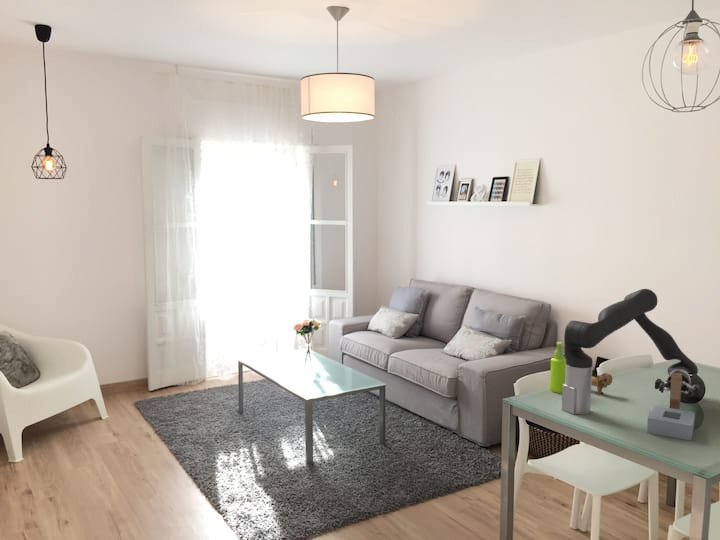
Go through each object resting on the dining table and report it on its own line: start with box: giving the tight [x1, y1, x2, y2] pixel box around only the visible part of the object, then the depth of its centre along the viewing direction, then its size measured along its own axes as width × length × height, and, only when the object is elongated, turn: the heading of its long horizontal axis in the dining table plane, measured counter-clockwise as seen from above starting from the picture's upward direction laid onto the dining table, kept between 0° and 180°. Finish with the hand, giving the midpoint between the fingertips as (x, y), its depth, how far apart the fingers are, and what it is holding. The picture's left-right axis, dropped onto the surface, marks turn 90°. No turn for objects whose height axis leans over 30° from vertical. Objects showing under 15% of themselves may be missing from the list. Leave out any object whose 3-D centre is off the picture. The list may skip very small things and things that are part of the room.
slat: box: [668, 373, 682, 410], centre depth 214 cm, size 5×3×16 cm, turn 148°
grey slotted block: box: [646, 404, 696, 441], centre depth 205 cm, size 15×13×5 cm
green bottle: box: [549, 341, 566, 394], centre depth 246 cm, size 6×7×20 cm
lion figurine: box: [591, 372, 613, 396], centre depth 245 cm, size 15×5×9 cm, turn 46°
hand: (675, 391), depth 213 cm, fingers open, 8 cm apart
